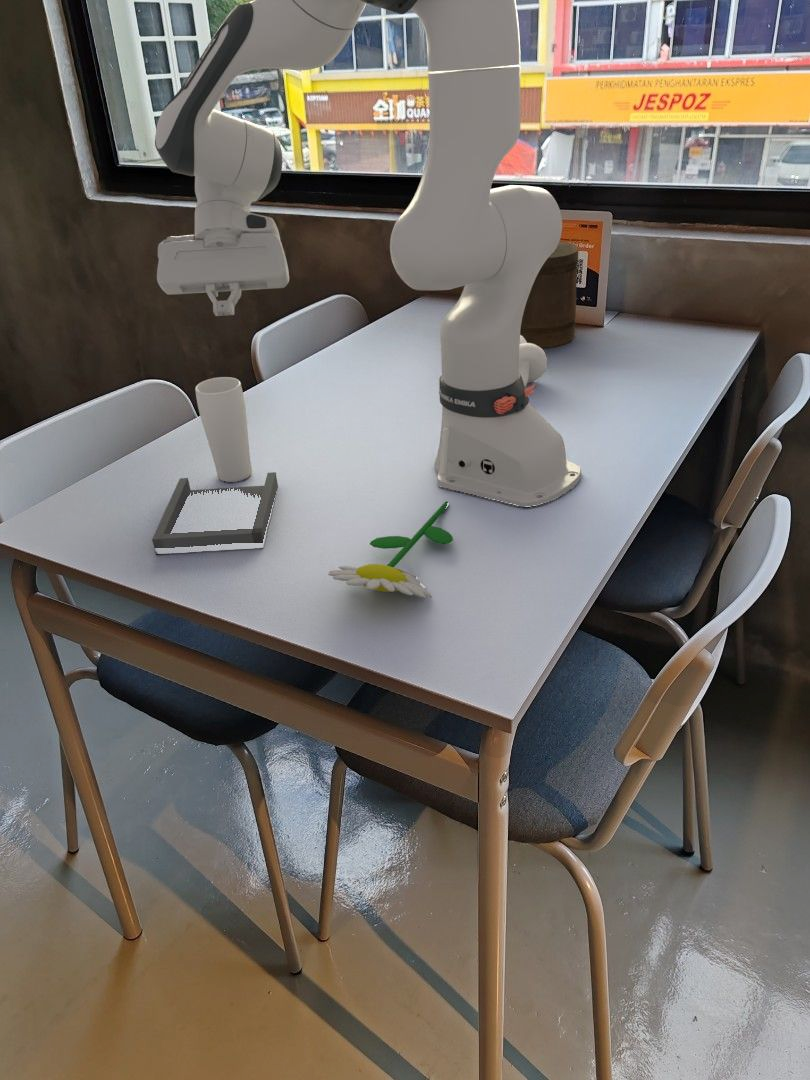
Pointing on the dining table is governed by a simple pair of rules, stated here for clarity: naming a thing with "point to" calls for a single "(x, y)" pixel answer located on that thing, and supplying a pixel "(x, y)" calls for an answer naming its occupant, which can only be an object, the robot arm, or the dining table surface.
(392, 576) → the decorative flower
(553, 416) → the dining table surface
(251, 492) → the tray
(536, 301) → the wooden container
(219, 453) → the drinking glass
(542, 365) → the white rounded piece
